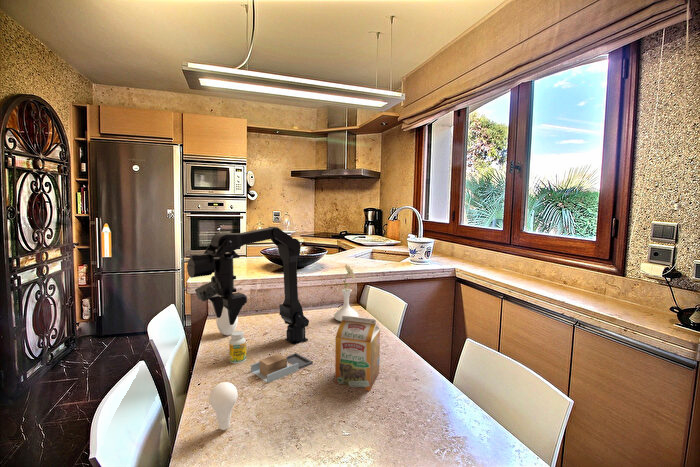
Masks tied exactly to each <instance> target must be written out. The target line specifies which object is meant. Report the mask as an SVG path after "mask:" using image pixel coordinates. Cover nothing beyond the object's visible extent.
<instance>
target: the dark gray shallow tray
mask: <svg viewBox="0 0 700 467" xmlns="http://www.w3.org/2000/svg"><path fill="white" fill-rule="evenodd" d="M285 357H286V358H287V363H288V364H289V363H290V365H293V364H296V363H298V369H300V370H301V369H303V368H305V367H309V366H312V365H313V363H314V362H313V360H310V359H309V358H306V357H304V355H301V354H299V353H297V352H295V353H292V354H289V355H287V356H285Z"/></svg>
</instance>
